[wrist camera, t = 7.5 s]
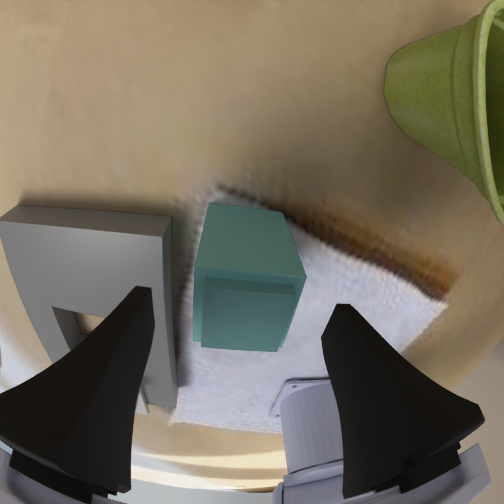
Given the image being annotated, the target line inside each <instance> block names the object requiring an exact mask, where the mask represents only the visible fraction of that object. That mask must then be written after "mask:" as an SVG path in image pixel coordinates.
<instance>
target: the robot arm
mask: <svg viewBox="0 0 504 504" xmlns="http://www.w3.org/2000/svg"><path fill="white" fill-rule="evenodd" d="M154 330H155V318H154V309H153V299H152V288H151V287H143V286H135V287H134V288H133V289H132V290H131V291H130V292H129V293H128V295H127V296H126V297H125V298H124V299H123V300H122V301H121V302H120V303H119V304H118V305H117V307H116V308H115V309H114V310H113V311H112V312H111V313H110V314H109V315H108V316H107V317H106V318H105V319H104V320H103V321H102V322H101V323H100V324H99V325H98V326H97V327H96V328H95V329H94V330H93V331H92V332H91V333H90V334H89V335H88V336H87V337H86V338H85V339H84V340H82V341H81V342H80V343H79V344H78V345H77V346H76V347H74V348H73V349H72V350H71V351H69V352H68V353H67V354H66V355H64V356H63V357H62V358H60V359H59V360H58V361H56V362H55V363H54V364H52V365H51V366H49V367H48V368H47V369H45V370H44V371H42V372H40V373H39V374H37V375H35V376H34V377H32V378H30V379H29V380H27V381H25V382H23V383H22V384H20V385H18V386H16V387H13V388H11V389H9V390H7V391H5V392H3V393H1V394H0V440H1V441H2V442H3V443H5V444H6V445H8V446H9V447H10V448H12V449H13V452H12V455H11V454H9V453H8V452H6V451H5V450H3V449H1V448H0V504H126V503H122V502H118V501H114V500H111V499H108V498H107V497H108V494H111V495H115V496H116V495H117V492H120V493H126V492H128V491H129V490H131V446H132V433H133V423H134V415H135V408H136V402H137V397H138V393H139V389H140V386H141V382H142V378H143V375H144V371H145V368H146V365H147V361H148V358H149V354H150V351H151V347H152V341H153V336H154ZM321 341H322V349H323V355H324V360H325V364H326V367H327V371H328V374H329V378H330V379H327V380H305V381H287V382H285V383H284V385H283V387H282V389H281V391H280V393H279V395H278V397H277V399H276V401H275V403H274V405H273V407H272V409H271V411H270V413H269V416H270V417H281V423H282V431H283V439H284V446H285V454H286V462H287V470H288V475H284V476H283V479H284V482H280V483H279V484H278V485H277V487H276V488H275V489H274V492H273V495H272V504H469V503H470V502H471V501H472V500H473V499H474V498H475V497H476V496H477V495H478V494H480V493H481V492H482V491H483V490H484V489H485V488H487V487H488V486H489V485H490V484H491V483H492V481H491V477H490V474H489V471H488V468H487V465H486V462H485V459H484V456H483V453H482V451H481V448H480V445H479V444H478V443H477V444H475V445H474V446H472V447H470V448H469V449H467V450H466V451H464V452H462V453H461V454H459V455H458V452H457V450H459V449H460V448H461V446H460V443H459V441H461V440H462V439H464V438H465V437H467V436H468V435H469V434H471V433H472V432H473V431H475V430H476V429H477V428H479V427H480V426H481V425H482V424H483V423H484V421H485V418H484V416H483V414H482V411H481V409H480V407H479V405H478V404H476V403H473V402H471V401H469V400H467V399H464V398H462V397H460V396H458V395H456V394H454V393H452V392H451V391H449V390H447V389H445V388H444V387H442V386H440V385H439V384H437V383H436V382H434V381H433V380H431V379H430V378H428V377H427V376H426V375H424V374H423V373H422V372H420V371H419V370H418V369H417V368H415V367H414V366H413V365H412V364H410V363H409V362H408V361H407V360H406V359H405V358H403V357H402V356H401V355H400V354H399V353H398V352H397V351H396V350H395V349H394V348H393V347H392V346H391V345H390V344H389V343H388V342H387V341H386V340H385V339H384V338H383V337H382V336H381V335H380V334H379V333H378V332H377V331H376V330H375V329H374V328H373V327H372V326H371V325H370V324H369V323H368V322H367V321H366V320H365V318H364V317H363V316H362V315H361V314H360V313H359V312H358V311H357V310H356V309H355V308H354V307H353V306H351V305H350V304H336V306H335V309H334V311H333V313H332V315H331V317H330V320H329V322H328V324H327V326H326V328H325V330H324V332H323V334H322V336H321Z"/></svg>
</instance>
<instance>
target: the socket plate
mask: <svg viewBox="0 0 504 504" xmlns="http://www.w3.org/2000/svg"><path fill="white" fill-rule="evenodd" d="M0 237H1V241H2V245H3V248H4V252H5V255H6V258H7V262H8V265H9V268H10V271H11V274H12V276H13V279H14V282H15V285H16V287H17V290H18V293H19V295H20V298H21V300H22V302H23V305H24V307H25V309H26V312H27V314H28V316H29V318H30V321H31V323H32V325H33V327H34V329H35V331H36V333H37V335H38V337H39V339H40V341H41V343H42V345H43V346H44V348H45V350H46V352H47V354H48V355H49V357H50V359H51V361H52V362H53V364H54V363H55V362H56V361H58V360H59V359H60V358H62V357H63V356H64V355H66V354H67V353H68V352H69V351H71V350H72V349H73V348H74V347H76V346H77V345H78V344H79V343H80V342H81V341H82V340H84V339H85V338H86V337H87V336H88V335H85V334H81V332H80V329H79V326H78V324H77V321H76V318H75V315H74V312H79V313H83V314H88V315H93V316H98V317H103V318H106V317H107V316H108V315H109V314H110V313H111V312H112V311H113V310H114V309H115V308H116V307H117V305H118V304H119V303H120V302H121V301H122V300H123V299H124V298H125V297H126V296H127V295H128V293H129V292H130V291H131V290H132V289H133V288H134V287H135V286H143V287H151V288H152V299H153V309H154V318H155V330H154V336H153V341H152V347H151V351H150V354H149V358H148V361H147V365H146V368H145V371H144V375H143V378H142V382H141V387H142V391H143V394H144V397H145V400H146V402H147V404H151V405H157V406H163V407H170V408H176V404H177V395H178V379H177V369H176V358H175V344H174V329H173V308H172V266H171V248H172V217H170V216H160V215H149V214H137V213H126V212H114V211H101V210H87V209H73V208H57V207H39V206H19V205H17V206H15V207H14V208H13V209H11V210H10V211H8V212H7V213H6V214H4V215H3V216H2V217H1V218H0ZM73 311H74V312H73Z"/></svg>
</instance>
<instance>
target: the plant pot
mask: <svg viewBox="0 0 504 504" xmlns="http://www.w3.org/2000/svg"><path fill="white" fill-rule="evenodd" d="M384 95H385V100H386V104H387V107H388V109H389V112H390V114H391V116H392V118H393V119H394V121H395V123H396V124H397V125H398V126H399V128H400V129H401V130H402V131H403V132H404V133H405V134H406V135H408V136H409V137H410V138H412V139H414V140H415V141H417V142H418V143H420V144H422V145H423V146H425V147H426V148H428V149H430V150H431V151H433V152H434V153H436V154H437V155H439V156H440V157H441V158H443V159H444V160H446V161H447V162H448V163H450V164H451V165H452V166H454V167H455V168H456V169H458V170H459V171H460V172H461V173H463V174H464V175H465V176H466V177H468V178H469V179H470V180H471V181H472V182H474V183H475V185H476V186H477V188H478V190H479V191H480V192H481V194H482V195H483V196H484V197H485V198H486V199H487V200H488V201H489V202H490V205H491V208H492V210H493V212H494V214H495V216H496V218H497V219H498V221H499V222H500V223H501V224H502V226H503V227H504V0H492V1H490V2H489V3H488V4H487V5H486V6H485V7H484V8H483V10H482V12H481V14H479V15H476V16H474V17H473V18H471V19H470V20H469V21H468V22H467V23H466V24H464V25H461V26H458V27H455V28H452V29H449V30H446V31H444V32H441V33H438V34H436V35H433V36H431V37H428V38H425V39H423V40H420V41H418V42H415V43H413V44H411V45H408V46H406V47H403V48H401V49H399V50H398V51H396V52H395V53H394V54H393V55H392V56H391V58H390V59H389V61H388V63H387V66H386V79H385V86H384Z"/></svg>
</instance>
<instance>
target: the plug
mask: <svg viewBox="0 0 504 504" xmlns="http://www.w3.org/2000/svg"><path fill="white" fill-rule="evenodd" d="M306 278H307V276H306V274H305V271H304V268H303V265H302V263H301V260H300V257H299V255H298V252H297V249H296V247H295V244H294V241H293V239H292V236H291V233H290V231H289V228H288V226H287V223H286V220H285V218H284V215H283V213H282V212H278V211H271V210H263V209H255V208H247V207H239V206H230V205H221V204H212V203H209V206H208V210H207V214H206V218H205V223H204V227H203V231H202V235H201V240H200V244H199V249H198V253H197V258H196V262H195V270H194V296H193V341H197V342H201V347H208V348H219V349H231V350H246V351H267V352H277V350H278V348H279V347H282V346H283V344H284V341H285V338H286V335H287V333H288V330H289V327H290V324H291V322H292V319H293V316H294V313H295V310H296V307H297V304H298V302H299V299H300V296H301V293H302V290H303V287H304V284H305V281H306Z"/></svg>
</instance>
